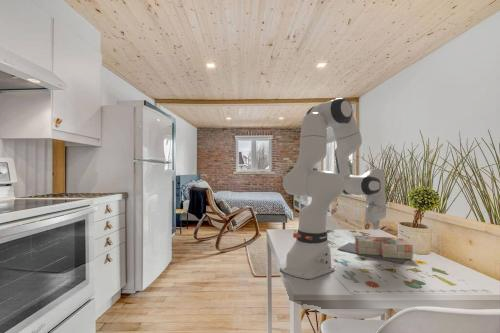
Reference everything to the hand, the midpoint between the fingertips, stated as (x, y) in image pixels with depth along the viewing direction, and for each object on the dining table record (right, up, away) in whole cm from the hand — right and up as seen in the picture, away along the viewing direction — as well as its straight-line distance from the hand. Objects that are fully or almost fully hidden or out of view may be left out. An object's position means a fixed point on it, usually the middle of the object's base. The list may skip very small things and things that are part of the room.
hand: (376, 229), depth 123 cm
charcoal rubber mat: (-4, -10, -4) cm, 12 cm away
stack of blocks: (+1, -7, -1) cm, 7 cm away
